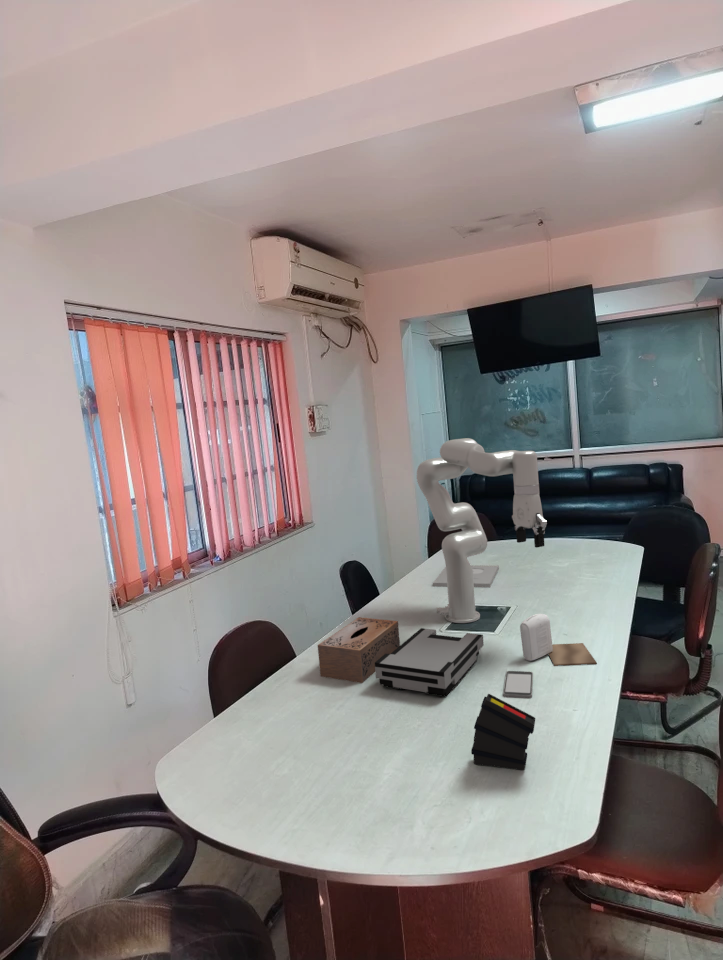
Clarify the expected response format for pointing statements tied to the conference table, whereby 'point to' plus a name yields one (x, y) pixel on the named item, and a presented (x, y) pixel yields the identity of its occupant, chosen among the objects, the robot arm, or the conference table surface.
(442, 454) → the robot arm
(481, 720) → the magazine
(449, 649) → the game console
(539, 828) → the conference table surface
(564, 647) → the board
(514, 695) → the smartphone
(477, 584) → the award plaque
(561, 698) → the conference table surface
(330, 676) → the tissue box cover
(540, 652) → the photo printer
